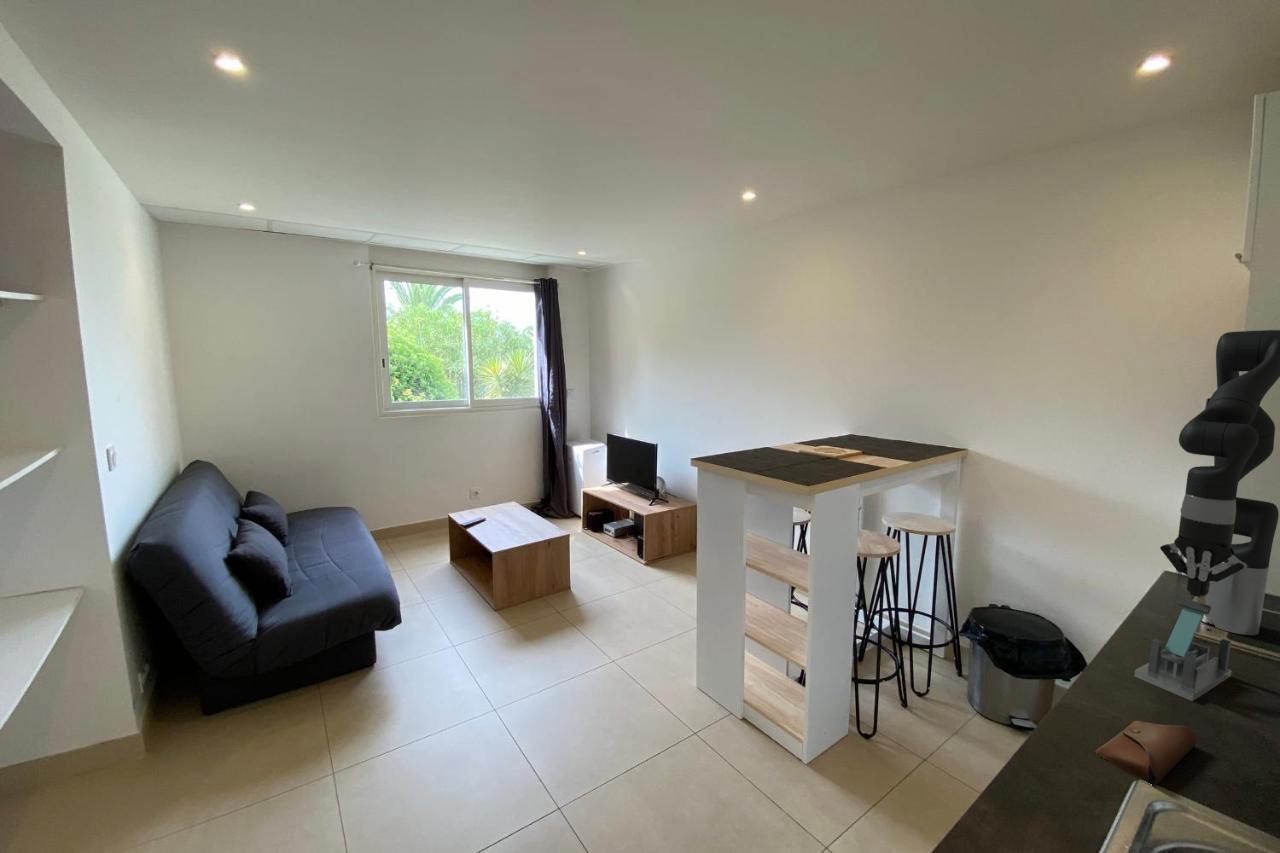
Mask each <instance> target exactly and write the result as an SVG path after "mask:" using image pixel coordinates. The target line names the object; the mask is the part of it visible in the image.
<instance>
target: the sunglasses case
mask: <svg viewBox="0 0 1280 853" xmlns="http://www.w3.org/2000/svg"><path fill="white" fill-rule="evenodd" d="M1197 741H1198V740H1197V736H1196V734H1195V732H1194V731H1193V730H1192V729H1191V728H1190V727H1188V726H1186V725H1178V724H1177V725H1176V724H1175V725H1174V724H1159V723H1154V722H1146V721H1141V720H1133V721H1132V722H1131V723H1130V724H1129V725H1127V727H1125V728H1124V729H1122V730H1121V731H1120V732H1119V733H1117V734H1116V735H1115V736H1114V737H1112V738H1111V739H1110V740H1108V741H1107V742H1105V743H1104V744H1102V745H1100V746H1099V747H1098V748H1097V749H1096V750H1095V751H1094V752H1096V753H1097V754H1098V755H1101V756H1102V757H1103V758H1104V759H1106V760H1108V761H1109V762H1110V763H1109V762H1108V761H1107V762H1108V763H1109V764H1111V763H1112V764H1111V765H1113V764H1114V765H1113V766H1115V765H1116V766H1115V767H1117V766H1118V767H1119V769H1120V768H1121V770H1122V769H1123V770H1122V771H1124V772H1126V773H1127V772H1128V774H1129V773H1130V774H1129V775H1131V776H1133V775H1134V776H1133V777H1135V778H1136V777H1137V778H1136V779H1138V778H1140V779H1142V780H1144V781H1146V782H1148V783H1150V784H1152V787H1155V786H1157V785H1159V784H1160V783H1161V782H1162V780H1163V779H1164V778H1165V777H1166V775H1168V774H1169V772H1171V771H1172V769H1173V768H1174V767H1175V766H1176V765H1177V764H1178V763H1179V762H1180V761H1181V760H1182V759H1183V758H1184V757H1185V756H1186V754H1188V753H1189V752H1190V751H1192V750H1193V748H1194V747H1195V746H1196V744H1197ZM1104 759H1103V760H1104ZM1106 760H1105V761H1106ZM1118 767H1117V768H1118ZM1140 779H1139V780H1140ZM1142 780H1141V781H1142ZM1144 781H1143V782H1144ZM1146 782H1145V783H1146ZM1148 783H1147V784H1148ZM1150 784H1149V785H1150Z"/></svg>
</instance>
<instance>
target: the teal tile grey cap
mask: <svg viewBox="0 0 1280 853" xmlns="http://www.w3.org/2000/svg"><path fill="white" fill-rule="evenodd" d="M1205 604H1206V603H1205ZM1205 604H1204V603H1202V602H1198V601H1195V600H1192V599H1189V598H1184V597H1180V599H1179V601H1178V605H1179V606H1180V607H1183V608H1182V609H1181V612H1180V614H1179V616H1178V619H1177V621H1176V623H1175V625H1174V627H1173V628H1172V629H1173V630H1172V631H1171V633H1170V636H1169V638H1168V640H1167V643H1166V645H1165V646H1164V649H1163V650H1165V651H1167V652H1170V653H1172V654H1175V655H1178V656H1180V657H1183V658H1185V653H1186V652H1187V651H1188V649H1189V647H1190V645H1191V642H1192V641H1193V640H1194V637H1195V636H1196V633H1197V632H1198V628H1199V627H1200V624H1201V622H1202V620H1203V619H1204V613H1205V614H1209V612H1210V610H1211V607H1210V606H1208V605H1205ZM1165 651H1163V652H1162V654H1161V657H1162V658H1164V659H1167V660H1170V661H1172V662H1175V663H1177V664H1180V665H1182V664H1183V662H1184V659H1183V658H1180V657H1178V656H1175V655H1172V654H1170V653H1167V652H1165Z"/></svg>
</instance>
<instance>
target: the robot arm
mask: <svg viewBox="0 0 1280 853" xmlns="http://www.w3.org/2000/svg"><path fill="white" fill-rule="evenodd" d="M1216 344H1217V345H1216V348H1215V369H1216V390H1215V391H1214V392H1213V393H1212V394H1211V397H1210V399H1209V400H1208V403H1207V405H1206V407H1205V409H1203V410H1202V411H1201V412H1199V414H1197V415H1195V417H1193V418H1192V419H1191V420H1189V421H1188V422H1187V423H1186V424H1185V425H1184V426H1183V427H1182V429H1181V431H1180V433H1179V436H1178V443H1179V446H1180V448H1181V449H1183V451H1185V452H1187V453H1189V454H1193V455H1198V456H1207V457H1213V465H1208V466H1207V465H1202V466H1199V465H1198V466H1194V467H1191V468H1190V469H1189V470H1188V472H1187V477H1186V485H1185V494H1184V497H1183V500H1182V503H1181V507H1180V519H1179V526H1178V527H1179V528H1178V535H1177V537H1176V538H1175V539H1174V542H1173V543H1166V544H1163V545H1161V546H1160V547H1159V548H1160V551H1162V553H1163V554H1164V555H1165V557H1166V559H1168V561H1169V562H1170V563H1171V565H1172V566H1173V567H1174V568H1175V570H1176V571H1177V572H1178V573H1183V574H1184V575H1186V576H1187V584H1186V590H1187V591H1188V592H1189V595H1191V596H1194V597H1197V598H1203V597H1204V596H1205V598H1206V599H1205V605H1208V606H1210V607H1211V610H1210V612H1209V614H1205V613H1204V615H1205V616H1207V617H1209V618H1210V619H1211V620H1212V621H1213V623H1214V625H1215V627H1214V628H1216V629H1219V630H1222V631H1225V632H1229V633H1233V634H1239V635H1245V636H1256V635H1259V632H1260V627H1261V620H1262V615H1263V610H1264V609H1263V608H1264V601H1265V594H1266V589H1267V581H1268V575H1269V567H1270V561H1271V554H1272V548H1273V543H1274V538H1275V534H1276V530H1277V526H1278V523H1279V515H1280V514H1279V507H1277V505H1276V504H1275V503H1273V502H1270V501H1269V502H1268V501H1265V500H1258V499H1251V498H1243V497H1239V496H1238V497H1237V493H1238V487H1239V486H1238V485H1239V483H1240V481H1241V480H1242V479H1243V478H1245V476H1247V475H1248V474H1249V473H1250V472H1252V471H1254V470H1255V469H1256V468H1257V467H1259V466H1260V465H1261V464H1263V463H1264V462H1265V461H1267V459H1269V458H1270V456H1271V455H1272V454H1273V452H1274V447H1275V445H1274V444H1275V435H1276V434H1275V433H1276V425H1275V422H1274V420H1273V419H1272V418H1271V416H1270V415H1269V413H1267V412H1266V410H1265V409H1263V408H1262V406H1261V402H1262V401H1263V399H1264V397H1265V396H1266V394H1267V393H1268V392H1269V390H1270V389H1271V388H1272V387H1273V386H1274V385H1275V383H1276V382H1277V381H1278V380H1279V379H1280V329H1268V330H1267V329H1266V330H1264V329H1263V330H1245V331H1244V330H1243V331H1228V332H1225V333H1223V334H1221V336H1220V337H1219V338H1218V341H1217V343H1216ZM1240 372H1245V373H1243V374H1240ZM1234 535H1238V536H1243V537H1248V538H1250V540H1249V541H1248V542H1247V541H1246V542H1242V543H1233V536H1234ZM1179 552H1180V553H1181V555H1182V556H1181V555H1180V554H1179ZM1182 557H1183V558H1184V559H1185V560H1186V562H1185V560H1184V559H1183V558H1182Z"/></svg>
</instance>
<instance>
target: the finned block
mask: <svg viewBox="0 0 1280 853" xmlns="http://www.w3.org/2000/svg"><path fill="white" fill-rule="evenodd" d="M1231 645H1232V641H1230V640H1228V639H1225V638H1222V639H1221V640H1220V641H1219V651H1218V656H1214V657H1212V658H1211V659H1209V658H1210V651H1211V647H1209V646H1207V645H1203V644H1200V643H1198V642H1195V641H1193V640H1192V642H1191V645H1190V647H1189V649H1188V651H1187V652H1186V653H1185V658H1183V657H1180V656H1178V655H1175V654H1172V653H1170V652H1167V651H1165V650H1164V649H1163V640H1160V639H1158V638H1153V639H1152V640H1151V642H1150V649H1149V651H1150V652H1149V659H1148V662H1147V663H1146V664H1144V665H1142V666H1140V667H1137V668H1135V669H1134V677H1135V678H1138V679H1140V680H1142V681H1143V682H1146V683H1149V684H1152V685H1153V686H1156V687H1157V688H1161V689H1163V690H1165V691H1167V692H1169V693H1172V694H1174V695H1177V696H1179V697H1181V698H1184V699H1186V700H1187V701H1190V702H1194V701H1195V700H1196V699H1198V698H1200V697H1201V696H1203V695H1205V694H1206V693H1207V692H1209V691H1210V690H1212V689H1214V688H1216V687H1217V686H1218V685H1220V684H1221V683H1223V682H1224V681H1226V680H1227V679H1229V678H1230V677H1231V675H1232V669H1229V667H1228V666H1229V662H1230V652H1231V648H1232V647H1231ZM1163 651H1165V652H1167V653H1170V654H1172V655H1175V656H1178V657H1180V658H1183V659H1184V662H1183V664H1182V665H1180V664H1177V663H1175V662H1172V661H1170V660H1167V659H1164V658H1162V657H1161V654H1162V652H1163Z"/></svg>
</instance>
